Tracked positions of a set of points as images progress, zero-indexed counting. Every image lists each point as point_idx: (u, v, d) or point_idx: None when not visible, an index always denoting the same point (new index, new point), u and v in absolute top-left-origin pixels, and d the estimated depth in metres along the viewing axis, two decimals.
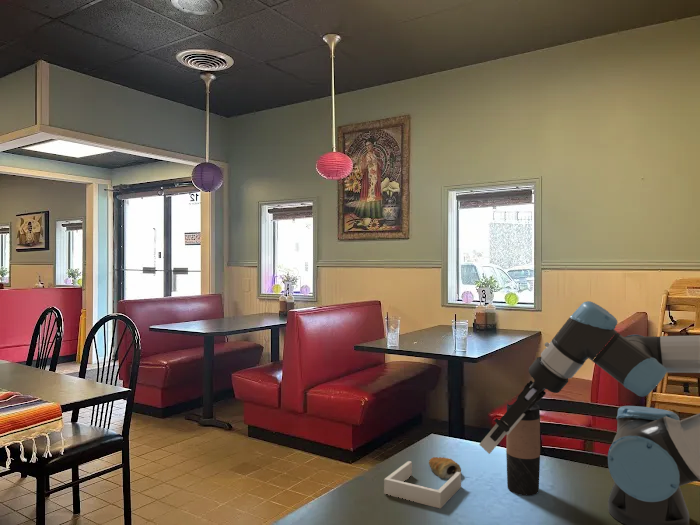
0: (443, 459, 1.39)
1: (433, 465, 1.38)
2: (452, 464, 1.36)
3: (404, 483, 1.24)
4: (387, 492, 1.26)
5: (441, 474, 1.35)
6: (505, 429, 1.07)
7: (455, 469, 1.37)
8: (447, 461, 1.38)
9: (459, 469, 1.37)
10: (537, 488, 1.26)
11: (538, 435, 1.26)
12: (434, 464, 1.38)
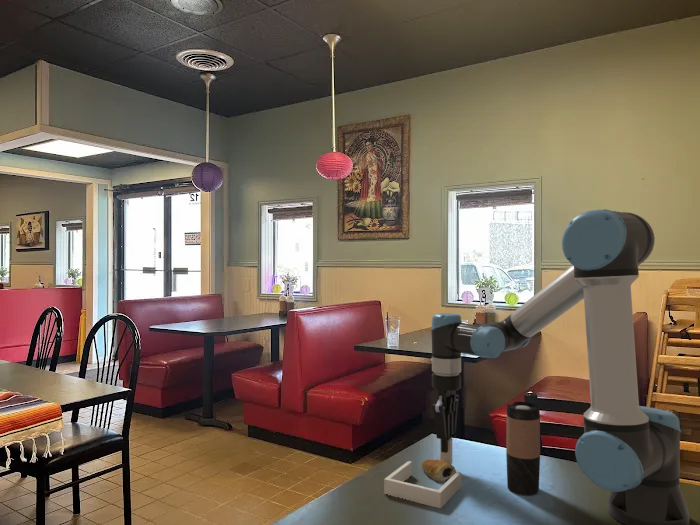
0: (437, 461, 1.37)
1: (428, 468, 1.36)
2: (448, 466, 1.34)
3: (404, 483, 1.24)
4: (387, 492, 1.26)
5: (437, 477, 1.33)
6: (443, 438, 1.37)
7: (450, 471, 1.35)
8: (442, 463, 1.36)
9: (454, 471, 1.35)
10: (537, 488, 1.26)
11: (538, 435, 1.26)
12: (429, 467, 1.36)
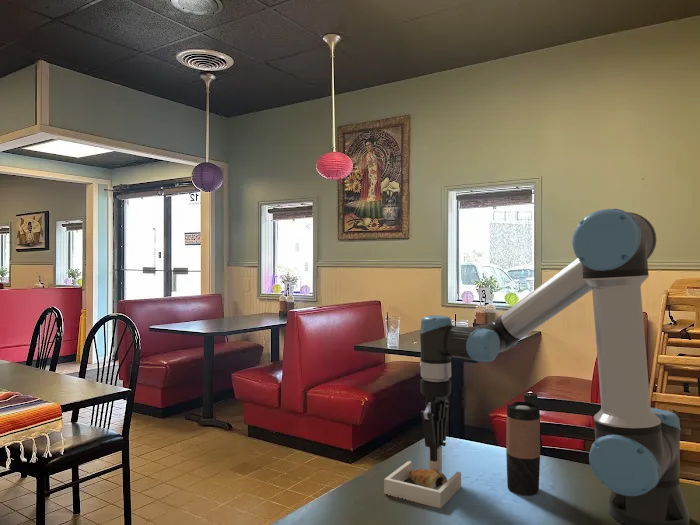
0: (428, 471, 1.31)
1: (419, 479, 1.30)
2: (440, 475, 1.29)
3: (404, 483, 1.24)
4: (387, 492, 1.26)
5: (431, 488, 1.27)
6: (432, 446, 1.31)
7: (442, 480, 1.30)
8: (433, 473, 1.30)
9: (446, 480, 1.30)
10: (537, 488, 1.26)
11: (538, 435, 1.26)
12: (420, 478, 1.29)
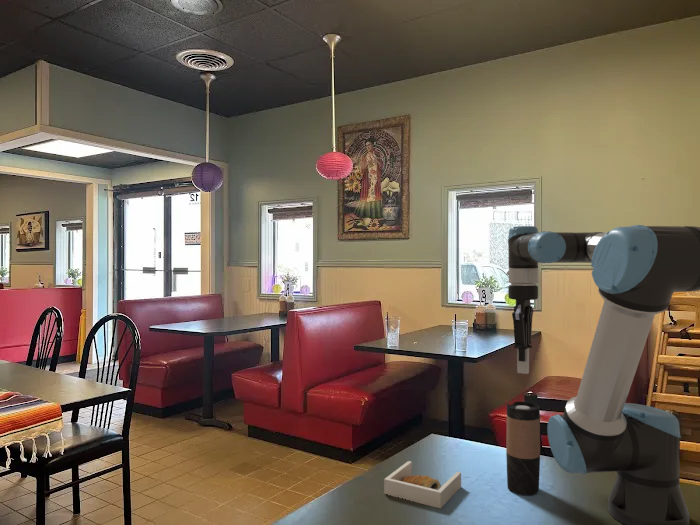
0: (421, 477, 1.27)
1: None
2: (434, 481, 1.25)
3: (404, 483, 1.24)
4: (387, 492, 1.26)
5: None
6: (522, 345, 1.40)
7: (436, 486, 1.27)
8: (427, 479, 1.27)
9: (440, 486, 1.27)
10: (537, 488, 1.26)
11: (538, 435, 1.26)
12: None
